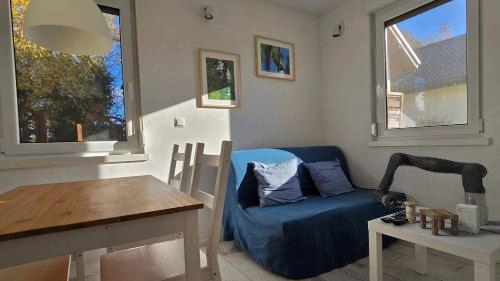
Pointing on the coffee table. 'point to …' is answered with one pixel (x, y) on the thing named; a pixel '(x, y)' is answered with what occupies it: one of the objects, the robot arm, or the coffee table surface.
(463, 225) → the small box
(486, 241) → the coffee table surface
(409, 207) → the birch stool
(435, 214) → the walnut footstool
